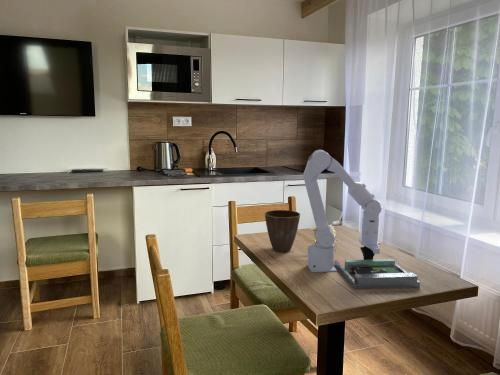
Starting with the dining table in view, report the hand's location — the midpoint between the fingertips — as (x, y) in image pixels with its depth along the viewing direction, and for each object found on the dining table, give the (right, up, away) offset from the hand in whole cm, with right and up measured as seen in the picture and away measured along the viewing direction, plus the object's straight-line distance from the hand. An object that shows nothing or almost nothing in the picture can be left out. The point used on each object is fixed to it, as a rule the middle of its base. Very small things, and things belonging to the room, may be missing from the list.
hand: (367, 266), depth 147 cm
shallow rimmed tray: (+1, -2, -5) cm, 6 cm away
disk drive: (+1, -3, -8) cm, 8 cm away
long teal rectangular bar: (0, -1, -2) cm, 2 cm away
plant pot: (-30, +2, +23) cm, 38 cm away
